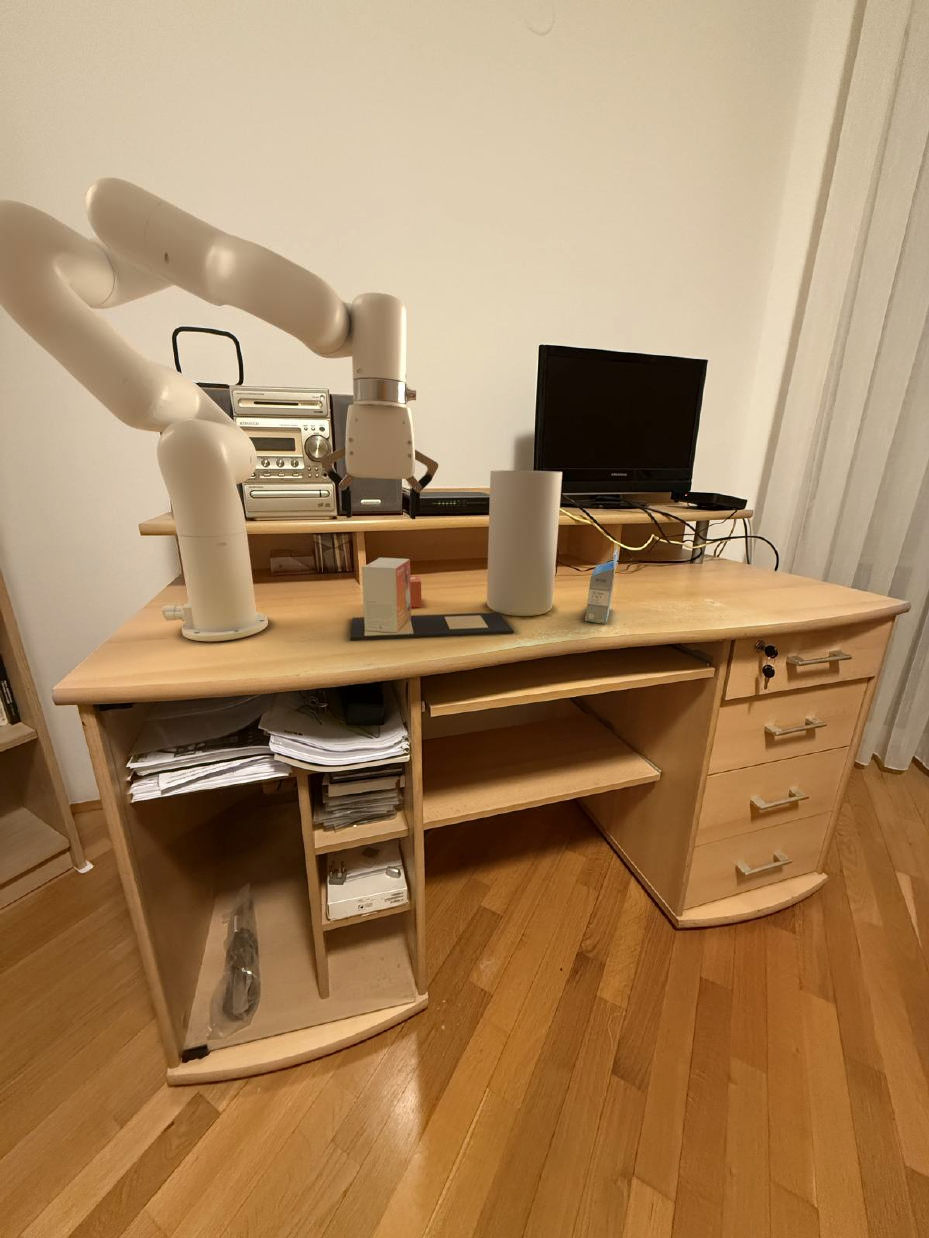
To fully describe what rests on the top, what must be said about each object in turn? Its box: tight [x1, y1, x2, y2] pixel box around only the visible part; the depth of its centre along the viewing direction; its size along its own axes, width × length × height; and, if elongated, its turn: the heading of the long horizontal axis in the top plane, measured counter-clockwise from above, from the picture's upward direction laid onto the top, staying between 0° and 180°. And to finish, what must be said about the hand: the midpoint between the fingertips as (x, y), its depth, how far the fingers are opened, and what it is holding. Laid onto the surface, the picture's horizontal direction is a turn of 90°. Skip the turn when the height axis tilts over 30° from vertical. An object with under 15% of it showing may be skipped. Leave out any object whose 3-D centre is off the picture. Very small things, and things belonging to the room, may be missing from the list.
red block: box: [410, 575, 423, 608], centre depth 94 cm, size 5×5×5 cm
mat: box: [349, 611, 514, 641], centre depth 82 cm, size 26×10×1 cm, turn 100°
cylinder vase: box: [486, 469, 563, 617], centre depth 90 cm, size 12×12×25 cm
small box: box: [361, 557, 412, 633], centre depth 79 cm, size 8×6×10 cm
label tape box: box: [584, 546, 619, 625], centre depth 87 cm, size 9×4×12 cm, turn 161°
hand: (381, 517), depth 75 cm, fingers open, 9 cm apart
